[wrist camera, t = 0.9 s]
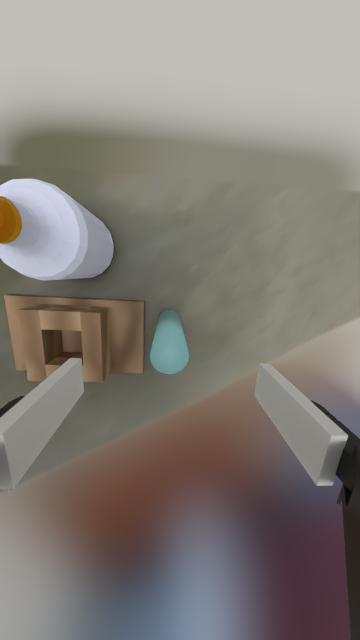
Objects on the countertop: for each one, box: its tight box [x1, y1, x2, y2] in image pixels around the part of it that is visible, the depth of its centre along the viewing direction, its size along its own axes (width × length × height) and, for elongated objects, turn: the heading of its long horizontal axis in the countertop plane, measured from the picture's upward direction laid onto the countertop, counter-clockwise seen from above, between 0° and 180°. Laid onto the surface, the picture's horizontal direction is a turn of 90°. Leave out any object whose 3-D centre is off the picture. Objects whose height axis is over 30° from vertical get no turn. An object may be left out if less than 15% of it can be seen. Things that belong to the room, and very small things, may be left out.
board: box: [4, 295, 145, 382], centre depth 28 cm, size 20×12×6 cm, turn 87°
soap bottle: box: [0, 179, 114, 281], centre depth 16 cm, size 9×9×25 cm
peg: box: [150, 310, 189, 374], centre depth 24 cm, size 4×4×14 cm
